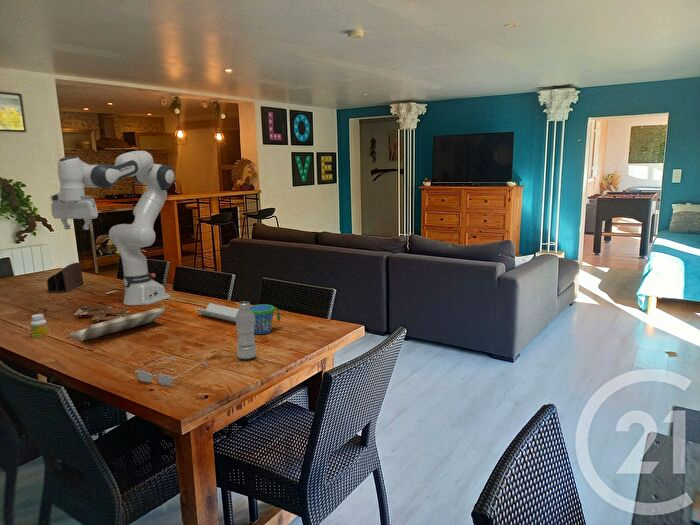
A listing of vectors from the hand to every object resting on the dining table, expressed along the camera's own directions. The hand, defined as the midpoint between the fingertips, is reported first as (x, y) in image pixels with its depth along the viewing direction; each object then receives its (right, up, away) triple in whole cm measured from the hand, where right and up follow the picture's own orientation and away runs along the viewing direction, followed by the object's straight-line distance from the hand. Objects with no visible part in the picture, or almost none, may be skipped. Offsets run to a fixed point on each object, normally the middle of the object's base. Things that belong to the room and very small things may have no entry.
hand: (76, 229), depth 208 cm
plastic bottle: (+79, -47, -36) cm, 99 cm away
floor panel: (+23, -43, -9) cm, 50 cm away
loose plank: (+26, -39, -12) cm, 48 cm away
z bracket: (+60, -39, +11) cm, 72 cm away
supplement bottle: (-7, -44, -12) cm, 47 cm away
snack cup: (+80, -42, -9) cm, 91 cm away
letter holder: (-45, -29, +71) cm, 89 cm away
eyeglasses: (+58, -50, -47) cm, 90 cm away
